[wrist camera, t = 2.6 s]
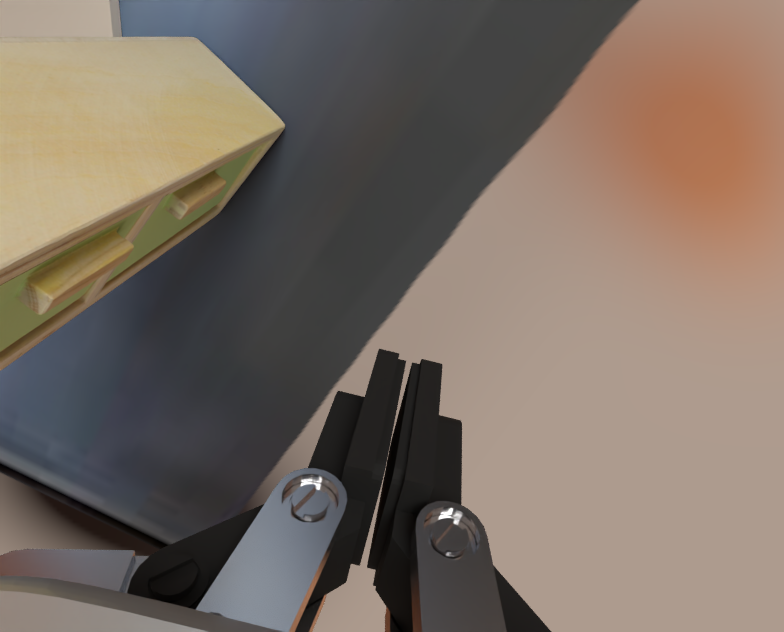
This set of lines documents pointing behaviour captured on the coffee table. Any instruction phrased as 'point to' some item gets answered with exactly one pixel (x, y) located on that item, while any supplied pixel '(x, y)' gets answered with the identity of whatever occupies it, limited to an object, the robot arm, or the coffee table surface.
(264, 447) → the coffee table surface
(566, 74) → the coffee table surface
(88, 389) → the coffee table surface
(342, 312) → the coffee table surface
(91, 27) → the sheet of paper
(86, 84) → the toy refrigerator
